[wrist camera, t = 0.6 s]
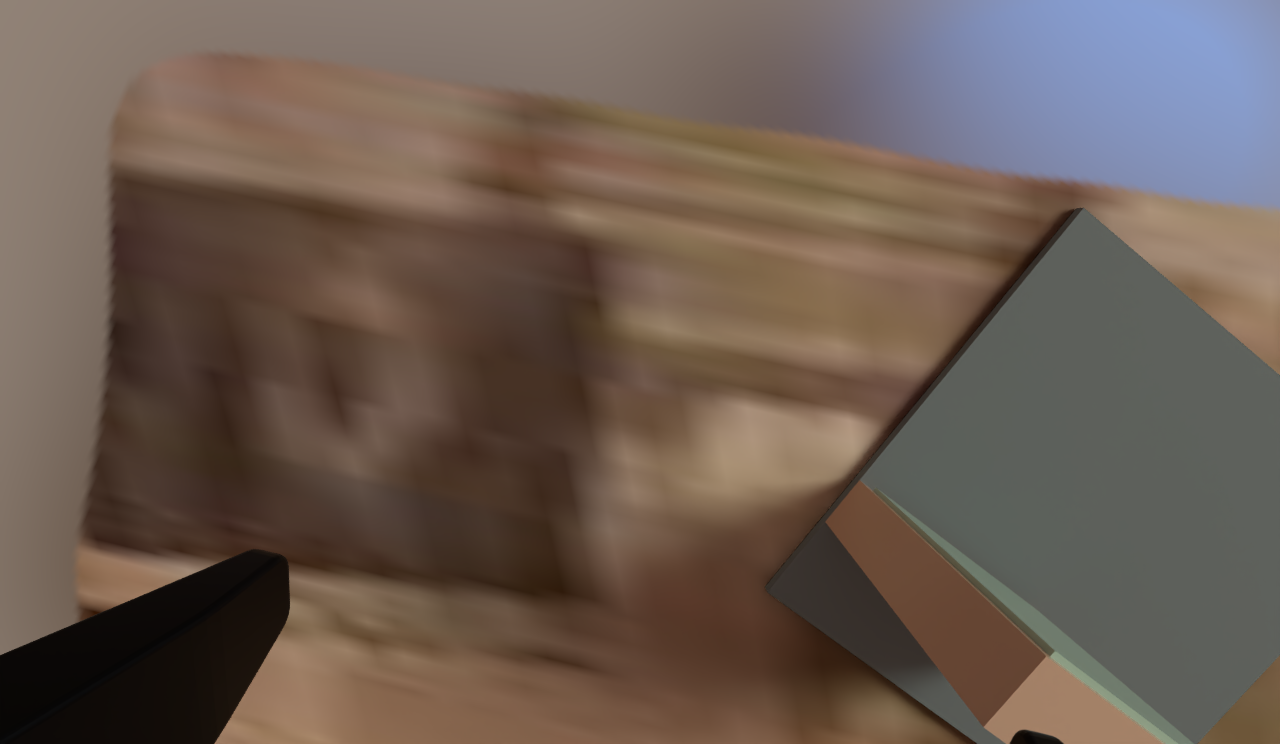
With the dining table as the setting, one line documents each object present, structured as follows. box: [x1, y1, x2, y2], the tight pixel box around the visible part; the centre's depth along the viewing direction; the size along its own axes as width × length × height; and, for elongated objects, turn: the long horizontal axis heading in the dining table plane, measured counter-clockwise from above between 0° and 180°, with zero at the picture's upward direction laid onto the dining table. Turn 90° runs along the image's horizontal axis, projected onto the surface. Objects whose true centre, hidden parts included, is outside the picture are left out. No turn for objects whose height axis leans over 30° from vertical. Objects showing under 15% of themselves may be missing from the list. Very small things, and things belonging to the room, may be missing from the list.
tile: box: [825, 480, 1194, 744], centre depth 20 cm, size 2×8×11 cm, turn 53°
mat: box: [765, 208, 1280, 744], centre depth 26 cm, size 16×16×1 cm
